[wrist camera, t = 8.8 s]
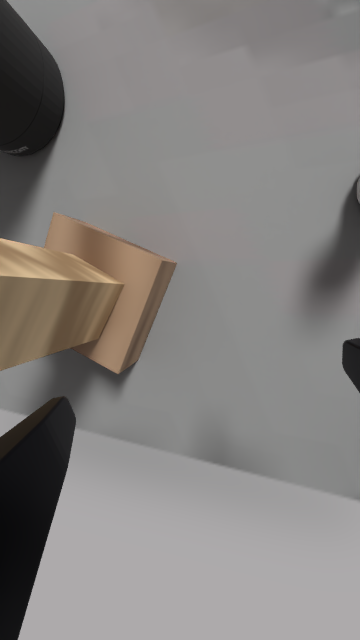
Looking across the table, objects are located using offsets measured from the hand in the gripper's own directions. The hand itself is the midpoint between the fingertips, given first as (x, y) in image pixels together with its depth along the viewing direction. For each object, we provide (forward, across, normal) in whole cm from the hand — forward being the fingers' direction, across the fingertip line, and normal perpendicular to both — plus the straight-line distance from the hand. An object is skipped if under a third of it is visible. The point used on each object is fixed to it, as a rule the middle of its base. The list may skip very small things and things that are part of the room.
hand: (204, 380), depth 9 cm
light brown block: (+16, +6, 0) cm, 17 cm away
